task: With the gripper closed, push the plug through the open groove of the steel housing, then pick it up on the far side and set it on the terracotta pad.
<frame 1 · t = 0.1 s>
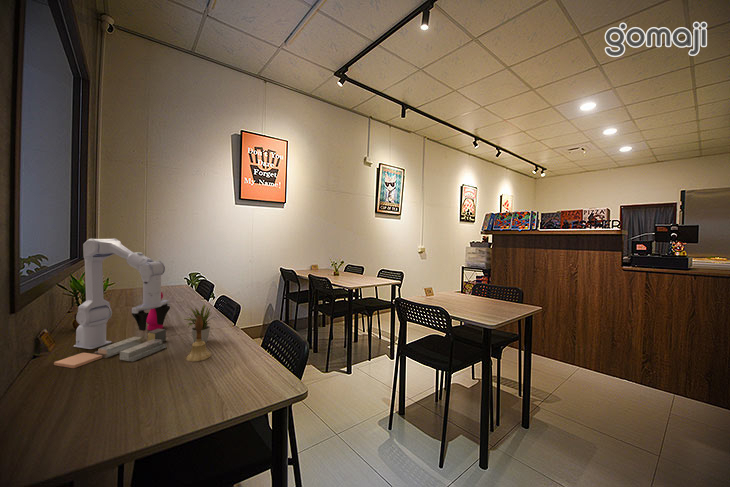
hand: (151, 327, 116), 10 cm above the table, tool pointing down, fingers open, 7 cm apart
plug: (156, 342, 128), on the table
pepper mill: (155, 329, 145), on the table
house plant: (199, 341, 130), on the table
housing: (131, 351, 117), on the table
pad: (78, 361, 107), on the table
hand bell: (198, 357, 114), on the table
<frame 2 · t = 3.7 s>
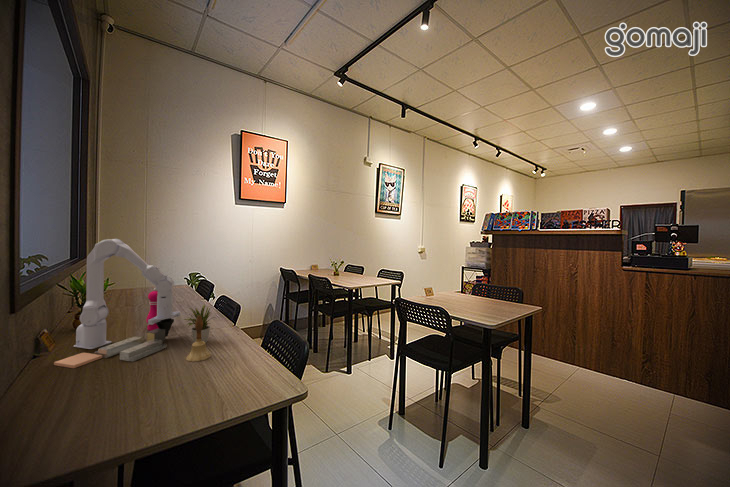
hand: (164, 336, 132), 1 cm above the table, tool pointing down, fingers closed
plug: (156, 342, 128), on the table, touching gripper
everything else where it was.
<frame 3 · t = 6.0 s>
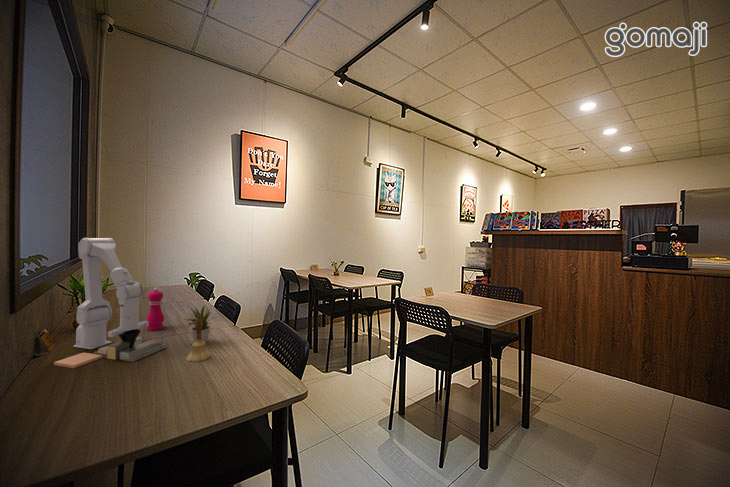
hand: (129, 349, 116), 1 cm above the table, tool pointing down, fingers closed
plug: (118, 356, 112), on the table, touching gripper
everything else where it was.
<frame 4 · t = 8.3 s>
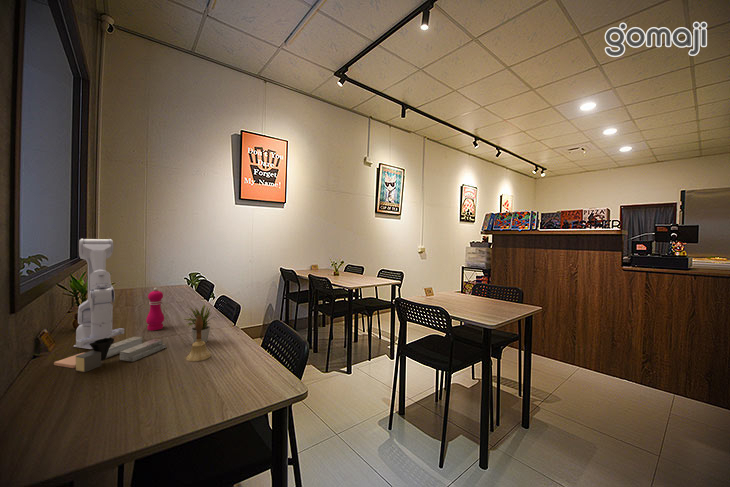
hand: (101, 359, 106), 1 cm above the table, tool pointing down, fingers closed
plug: (88, 368, 102), on the table, touching gripper
everything else where it was.
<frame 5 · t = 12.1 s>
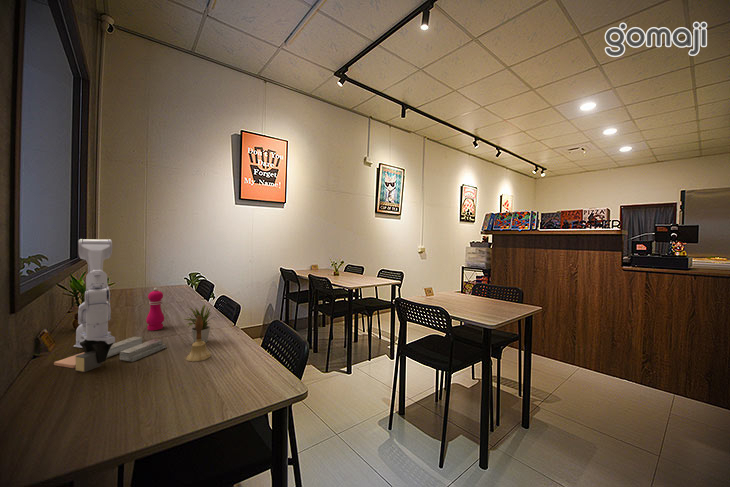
hand: (96, 361, 105), 1 cm above the table, tool pointing down, fingers closed on plug, 4 cm apart
plug: (88, 368, 102), on the table, touching gripper
everything else where it was.
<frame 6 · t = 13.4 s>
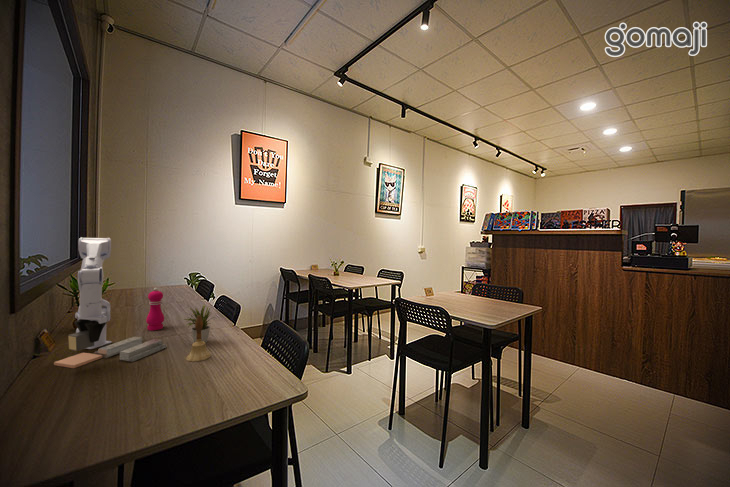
hand: (90, 340, 106), 8 cm above the table, tool pointing down, fingers closed on plug, 4 cm apart
plug: (81, 347, 103), point 7 cm above the table, touching gripper
everything else where it was.
when the fingers open (3 cm above the table, at t = 15.1 s): plug stays where it is, resting on pad.
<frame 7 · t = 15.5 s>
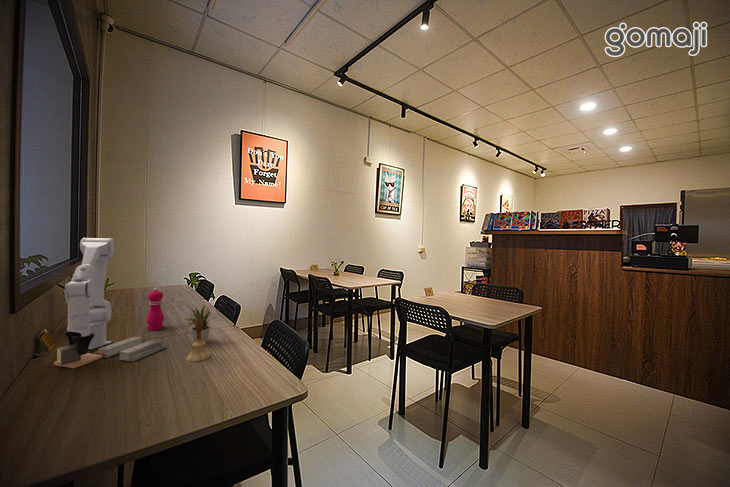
hand: (78, 352, 107), 3 cm above the table, tool pointing down, fingers open, 7 cm apart
plug: (69, 361, 105), point 1 cm above the table, touching pad
everything else where it was.
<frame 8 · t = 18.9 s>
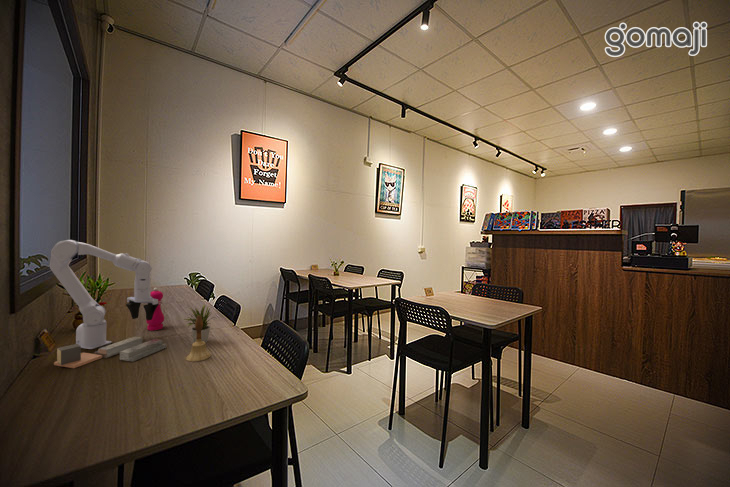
hand: (142, 319, 132), 8 cm above the table, tool pointing down, fingers open, 7 cm apart
nothing on the table moved.
at the end: plug 2.5 cm off-centre on the pad, point 1.0 cm above the pad's base; plug tilted 0°; the gripper is holding nothing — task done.
